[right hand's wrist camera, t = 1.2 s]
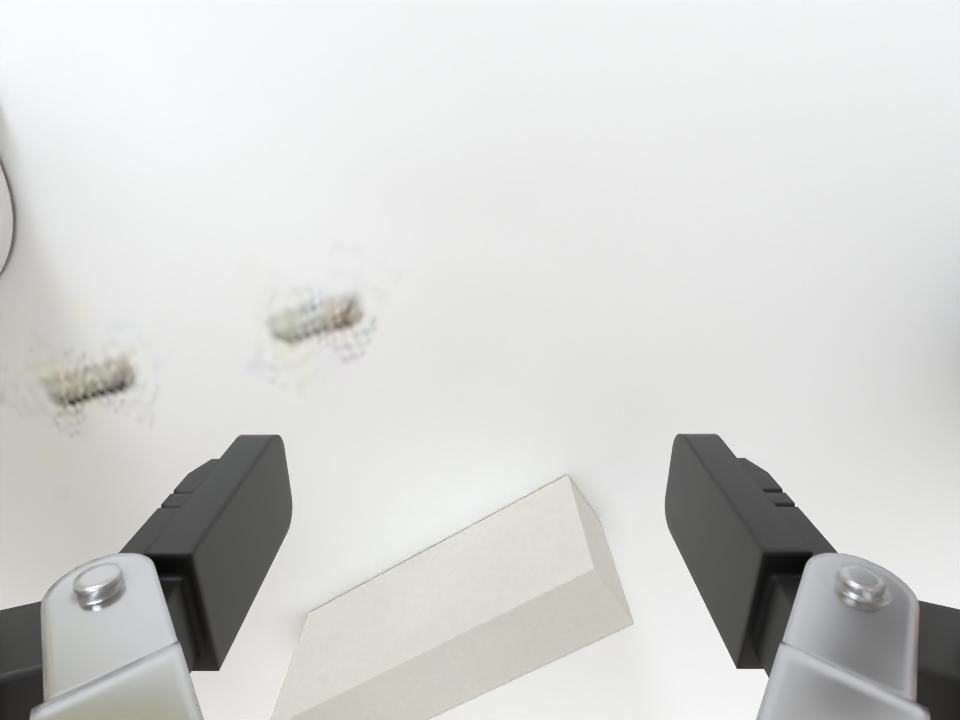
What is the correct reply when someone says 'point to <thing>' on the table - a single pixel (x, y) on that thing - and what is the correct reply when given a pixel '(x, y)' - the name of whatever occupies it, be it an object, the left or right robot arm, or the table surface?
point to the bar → (461, 616)
